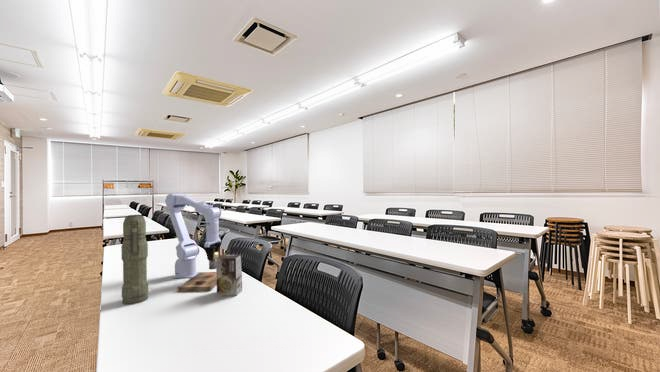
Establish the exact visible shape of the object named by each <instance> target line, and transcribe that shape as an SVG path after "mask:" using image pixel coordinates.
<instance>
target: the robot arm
mask: <svg viewBox="0 0 660 372" xmlns="http://www.w3.org/2000/svg"><path fill="white" fill-rule="evenodd" d="M164 203H165V205H166V208H167V211H168V214H169V217H170V220H171V223H172V226H173V229H174V232H175V234H176V237H177V240H178V244H177V245H176V246H175V250H176V256H177V259H175V263H174V277H173V278H174V279H179V278H182V279H185V278H186V279H188V278H189V279H191V278H192V277H194V276H195V275H197V274H198V273H199V272H200V271H197V258H198V255H199V254H200V247H199V245H198V244H197V243H196V241H195V240H194V239H191V236H190V234H189V231H188V228H187V226H186V223H185V220H184V218H183V214H182V211H183V210H184V209H185V208H186V206H187V205H188V206H189V207H192V208H193V209H194V211H195V212H196V213H198V214H200V215H202V216H203V218H204V220H205V224H206V226H205V228H206V229H205V230H206V232H205V233H206V237H205V238H206V240H205V242H204V245H203V247H202V248H203V250H204V252H205V254H206V259H207V258H208V259H207V260H208V261H209V260H213V257H214V251H215V250H216V251H218V253H219V251H220V248H221V246H222V243H223V241H222V239H221V237H220V236H219V235H220V232H219V231H220V230H219V229H220V228H219V226H220V224H219V222H220V221H219V219H220V218H221V216H222V210H221V209H220V208H219V207H218V206H214V207H213V206H212V205H210V204H208V203H206V202H205V200H204V201H203V200H202V201H198V200H195V199H194V198H193V197H191V196H190V195H189V194H188V193H184V192H183V193H168V194H167V195H166V196H165V200H164Z"/></svg>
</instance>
